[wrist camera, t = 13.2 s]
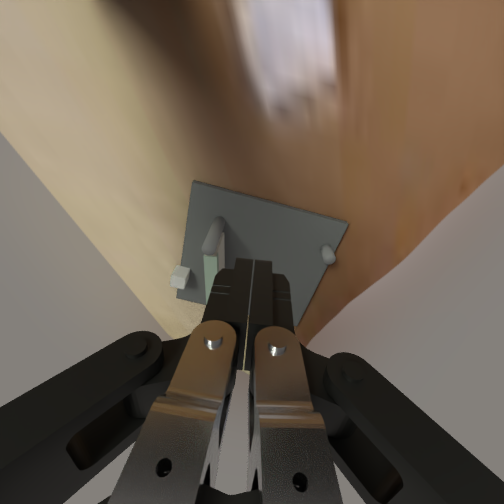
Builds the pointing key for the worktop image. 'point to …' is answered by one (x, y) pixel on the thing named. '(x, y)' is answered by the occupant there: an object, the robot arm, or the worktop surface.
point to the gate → (213, 265)
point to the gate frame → (255, 241)
